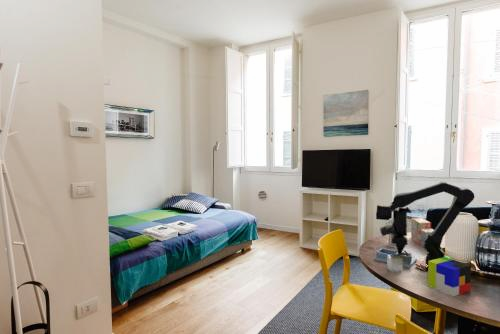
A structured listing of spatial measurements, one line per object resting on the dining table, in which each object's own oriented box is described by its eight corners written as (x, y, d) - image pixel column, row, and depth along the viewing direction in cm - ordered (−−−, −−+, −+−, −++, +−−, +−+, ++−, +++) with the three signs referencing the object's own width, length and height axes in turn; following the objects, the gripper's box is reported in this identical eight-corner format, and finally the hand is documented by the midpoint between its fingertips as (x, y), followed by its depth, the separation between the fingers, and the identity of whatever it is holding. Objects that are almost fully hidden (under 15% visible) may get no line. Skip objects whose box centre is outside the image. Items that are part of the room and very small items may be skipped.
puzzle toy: (453, 296, 114) (453, 270, 114) (427, 285, 123) (428, 260, 123) (470, 290, 118) (470, 265, 118) (444, 280, 127) (445, 256, 127)
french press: (398, 249, 166) (399, 203, 164) (380, 243, 176) (380, 199, 174) (410, 246, 170) (410, 201, 169) (391, 240, 181) (391, 198, 179)
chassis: (416, 260, 149) (416, 252, 149) (410, 268, 141) (410, 259, 140) (382, 253, 159) (382, 246, 159) (374, 259, 151) (374, 251, 151)
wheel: (411, 258, 146) (411, 253, 146) (411, 262, 141) (411, 257, 141) (397, 256, 149) (398, 251, 149) (397, 260, 144) (397, 255, 144)
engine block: (397, 268, 141) (397, 253, 140) (402, 271, 137) (402, 256, 136) (387, 268, 141) (387, 253, 140) (391, 272, 137) (391, 257, 136)
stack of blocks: (438, 250, 164) (438, 227, 163) (425, 249, 165) (425, 226, 164) (422, 238, 185) (422, 217, 184) (410, 237, 186) (411, 217, 185)
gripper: (382, 215, 157) (382, 245, 158) (380, 224, 140) (379, 257, 141) (407, 217, 152) (406, 248, 153) (407, 226, 135) (407, 261, 136)
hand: (399, 253), depth 146 cm, fingers closed, pressing on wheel
